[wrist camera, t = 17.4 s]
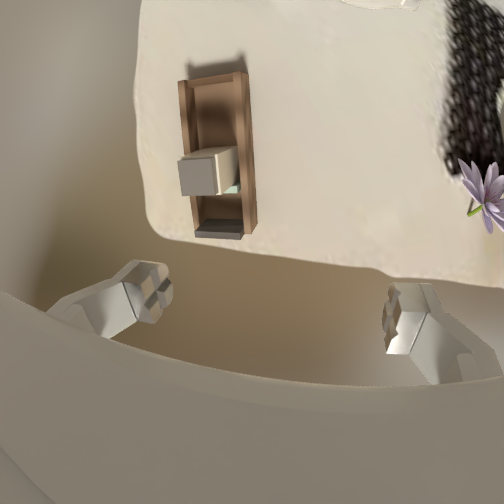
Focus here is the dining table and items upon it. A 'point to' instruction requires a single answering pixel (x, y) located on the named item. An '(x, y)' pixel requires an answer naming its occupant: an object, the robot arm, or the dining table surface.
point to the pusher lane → (220, 135)
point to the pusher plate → (234, 188)
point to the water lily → (486, 193)
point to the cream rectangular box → (209, 171)
